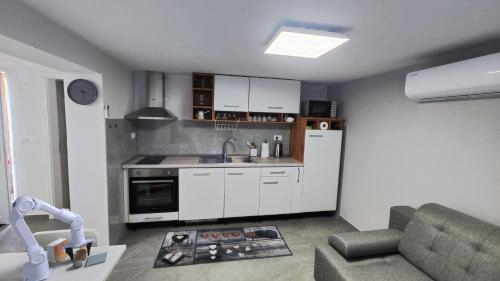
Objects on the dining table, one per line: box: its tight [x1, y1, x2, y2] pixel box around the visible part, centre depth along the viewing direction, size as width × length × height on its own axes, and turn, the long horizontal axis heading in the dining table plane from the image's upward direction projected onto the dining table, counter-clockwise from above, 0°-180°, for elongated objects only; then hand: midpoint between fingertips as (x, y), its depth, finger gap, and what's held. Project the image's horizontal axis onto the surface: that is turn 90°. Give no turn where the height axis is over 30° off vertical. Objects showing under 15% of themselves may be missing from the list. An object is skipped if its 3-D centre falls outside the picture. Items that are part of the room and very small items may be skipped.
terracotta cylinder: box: [78, 245, 87, 254], centre depth 135 cm, size 4×4×3 cm
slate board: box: [85, 251, 108, 268], centre depth 128 cm, size 9×9×1 cm
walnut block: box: [74, 248, 88, 262], centre depth 129 cm, size 4×4×5 cm
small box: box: [45, 237, 69, 264], centre depth 129 cm, size 8×6×10 cm
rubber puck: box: [72, 260, 83, 270], centre depth 122 cm, size 4×4×3 cm
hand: (80, 257), depth 129 cm, fingers open, 7 cm apart
